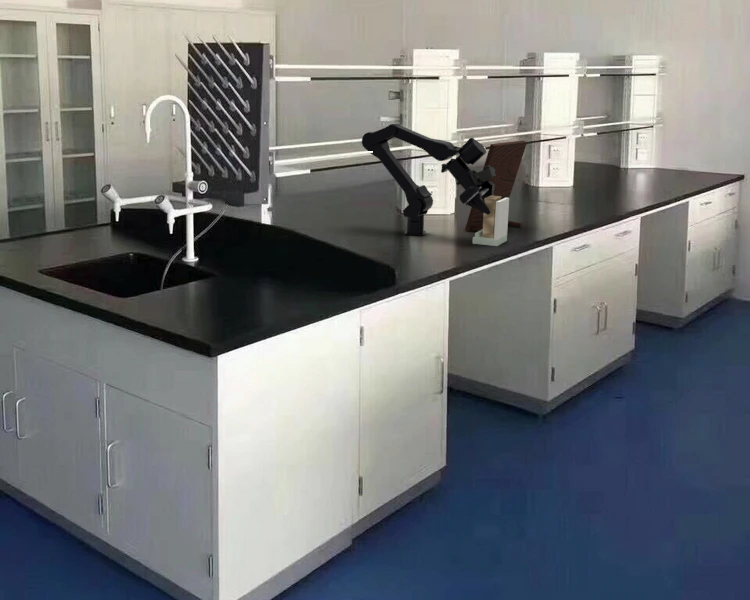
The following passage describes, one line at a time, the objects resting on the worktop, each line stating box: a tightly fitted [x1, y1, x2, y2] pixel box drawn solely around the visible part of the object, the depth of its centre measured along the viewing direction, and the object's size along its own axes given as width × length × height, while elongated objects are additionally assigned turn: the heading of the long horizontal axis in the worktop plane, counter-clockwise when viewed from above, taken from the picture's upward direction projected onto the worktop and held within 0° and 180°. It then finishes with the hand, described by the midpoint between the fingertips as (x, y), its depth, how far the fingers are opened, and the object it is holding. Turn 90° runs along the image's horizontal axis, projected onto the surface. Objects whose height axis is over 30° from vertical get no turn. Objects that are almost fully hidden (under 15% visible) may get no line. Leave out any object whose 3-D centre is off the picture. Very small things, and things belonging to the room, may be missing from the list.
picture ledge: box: [472, 197, 510, 247], centre depth 289 cm, size 8×10×14 cm
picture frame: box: [464, 139, 528, 232], centre depth 309 cm, size 21×11×30 cm, turn 141°
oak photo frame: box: [482, 196, 501, 238], centre depth 288 cm, size 4×6×12 cm, turn 155°
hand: (493, 211), depth 288 cm, fingers open, 9 cm apart
